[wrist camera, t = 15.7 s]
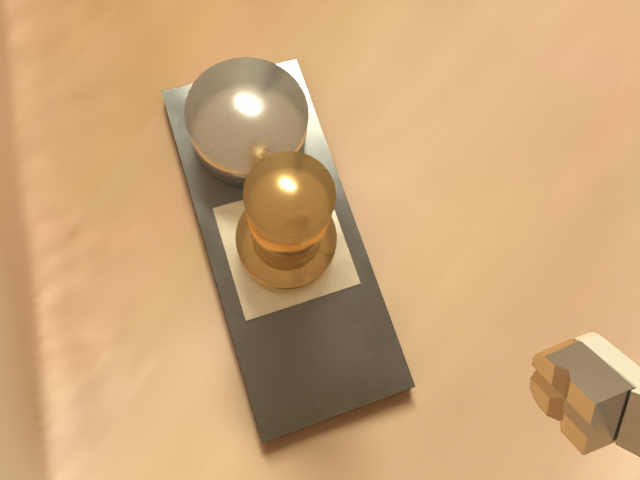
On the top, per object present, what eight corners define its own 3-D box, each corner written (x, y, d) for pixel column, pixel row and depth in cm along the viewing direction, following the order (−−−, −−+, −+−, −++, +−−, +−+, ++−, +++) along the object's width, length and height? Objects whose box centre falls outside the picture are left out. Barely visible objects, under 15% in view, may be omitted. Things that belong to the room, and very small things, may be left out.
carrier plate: (410, 385, 27) (432, 389, 24) (262, 440, 26) (260, 454, 22) (295, 68, 32) (298, 28, 28) (164, 99, 31) (148, 62, 27)
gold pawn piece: (345, 275, 28) (376, 237, 19) (253, 305, 27) (242, 279, 18) (315, 190, 29) (332, 117, 20) (227, 215, 28) (204, 150, 19)
